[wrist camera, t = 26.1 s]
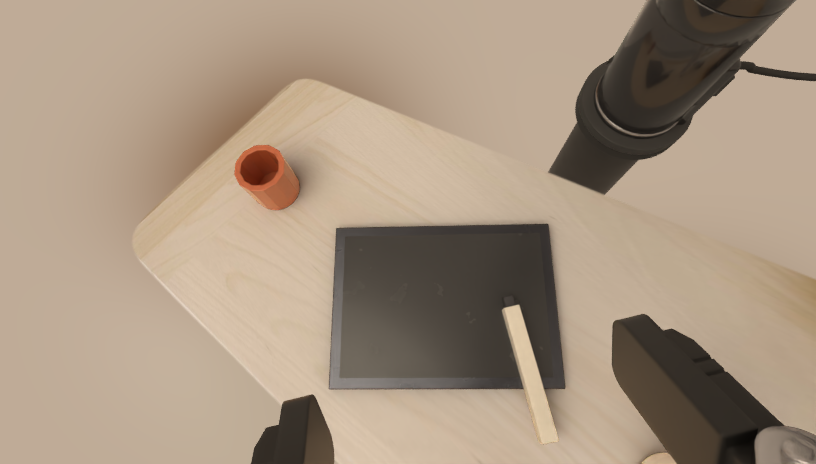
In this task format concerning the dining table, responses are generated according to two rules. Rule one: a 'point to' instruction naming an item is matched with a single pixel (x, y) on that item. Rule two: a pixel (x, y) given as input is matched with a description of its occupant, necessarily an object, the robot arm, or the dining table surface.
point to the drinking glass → (659, 459)
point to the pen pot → (267, 177)
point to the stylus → (529, 372)
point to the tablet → (441, 307)
